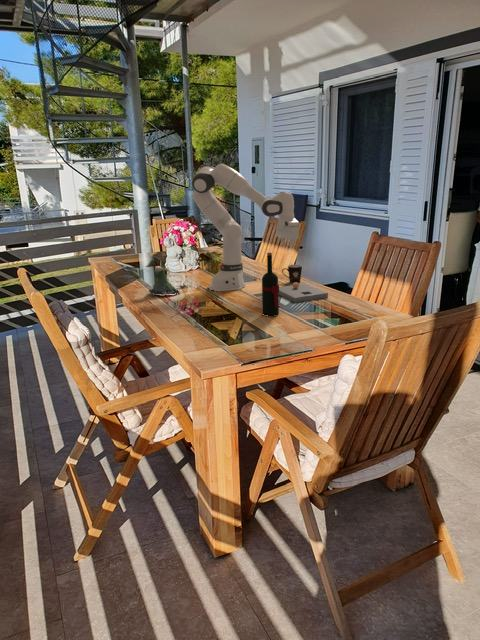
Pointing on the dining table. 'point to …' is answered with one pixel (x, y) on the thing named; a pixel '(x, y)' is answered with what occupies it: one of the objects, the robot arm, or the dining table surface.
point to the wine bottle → (270, 290)
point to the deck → (302, 293)
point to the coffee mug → (294, 273)
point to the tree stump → (162, 283)
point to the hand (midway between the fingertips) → (287, 246)
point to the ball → (295, 285)
